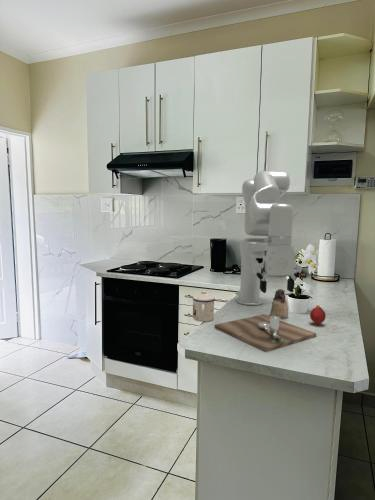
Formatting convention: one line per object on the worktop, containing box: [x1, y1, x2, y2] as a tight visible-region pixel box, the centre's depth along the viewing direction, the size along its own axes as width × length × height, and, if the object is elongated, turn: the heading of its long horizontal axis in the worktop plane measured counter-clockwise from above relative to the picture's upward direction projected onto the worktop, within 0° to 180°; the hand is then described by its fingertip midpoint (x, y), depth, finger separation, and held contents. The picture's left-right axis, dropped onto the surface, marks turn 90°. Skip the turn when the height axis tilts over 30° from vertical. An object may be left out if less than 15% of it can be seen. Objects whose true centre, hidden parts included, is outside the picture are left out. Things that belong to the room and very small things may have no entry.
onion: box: [309, 304, 327, 325], centre depth 135 cm, size 6×6×8 cm
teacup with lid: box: [192, 290, 216, 323], centre depth 137 cm, size 12×9×12 cm
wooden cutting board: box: [214, 313, 317, 353], centre depth 125 cm, size 26×26×1 cm
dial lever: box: [259, 315, 281, 341], centre depth 119 cm, size 15×4×7 cm, turn 8°
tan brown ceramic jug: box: [270, 288, 289, 320], centre depth 144 cm, size 7×7×12 cm
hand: (276, 291), depth 115 cm, fingers open, 9 cm apart
